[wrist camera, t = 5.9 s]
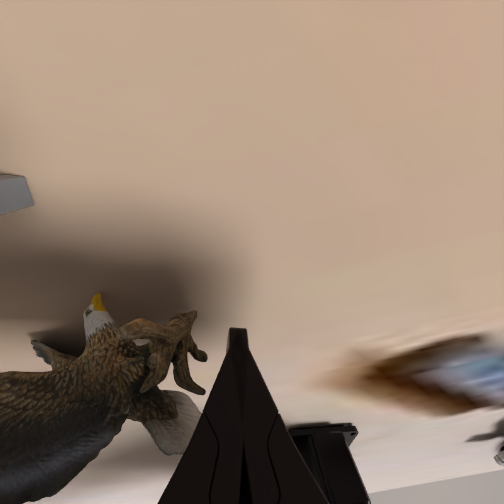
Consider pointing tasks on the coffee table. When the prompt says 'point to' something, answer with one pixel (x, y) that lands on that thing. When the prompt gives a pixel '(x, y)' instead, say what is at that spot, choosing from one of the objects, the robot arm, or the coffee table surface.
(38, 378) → the eagle figurine
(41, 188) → the coffee table surface
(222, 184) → the coffee table surface
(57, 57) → the coffee table surface
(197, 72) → the coffee table surface
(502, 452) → the robot toy
